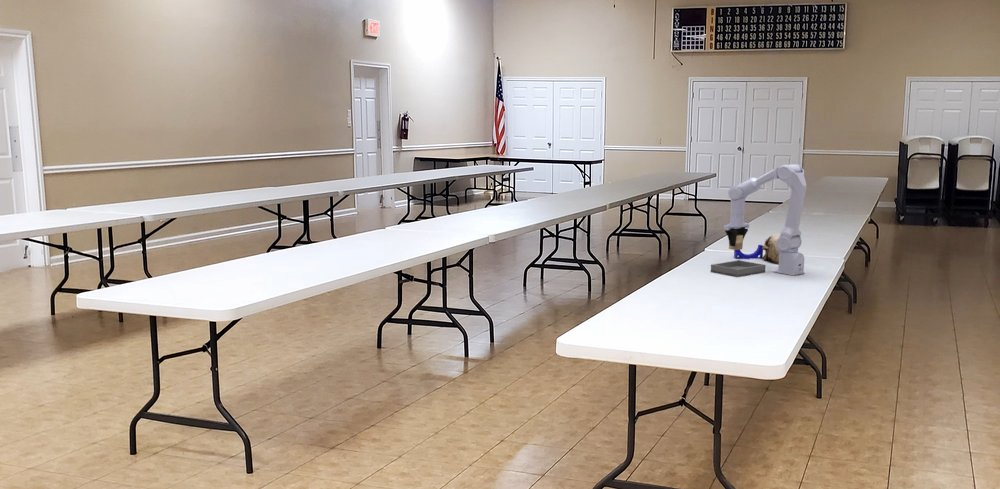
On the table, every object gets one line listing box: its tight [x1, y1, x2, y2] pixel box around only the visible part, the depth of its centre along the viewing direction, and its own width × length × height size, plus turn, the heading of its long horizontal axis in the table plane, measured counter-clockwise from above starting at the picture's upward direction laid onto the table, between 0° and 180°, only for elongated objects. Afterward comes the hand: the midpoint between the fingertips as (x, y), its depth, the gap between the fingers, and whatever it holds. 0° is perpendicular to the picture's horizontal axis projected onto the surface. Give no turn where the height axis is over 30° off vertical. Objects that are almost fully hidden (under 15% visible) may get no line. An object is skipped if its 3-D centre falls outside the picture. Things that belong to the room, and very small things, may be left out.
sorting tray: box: [710, 259, 767, 278], centre depth 345 cm, size 14×18×3 cm
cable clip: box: [733, 244, 764, 260], centre depth 377 cm, size 12×4×6 cm, turn 86°
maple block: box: [728, 235, 744, 251], centre depth 360 cm, size 4×4×6 cm
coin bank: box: [762, 232, 781, 264], centre depth 369 cm, size 16×17×13 cm
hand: (735, 245), depth 360 cm, fingers closed on maple block, 4 cm apart
